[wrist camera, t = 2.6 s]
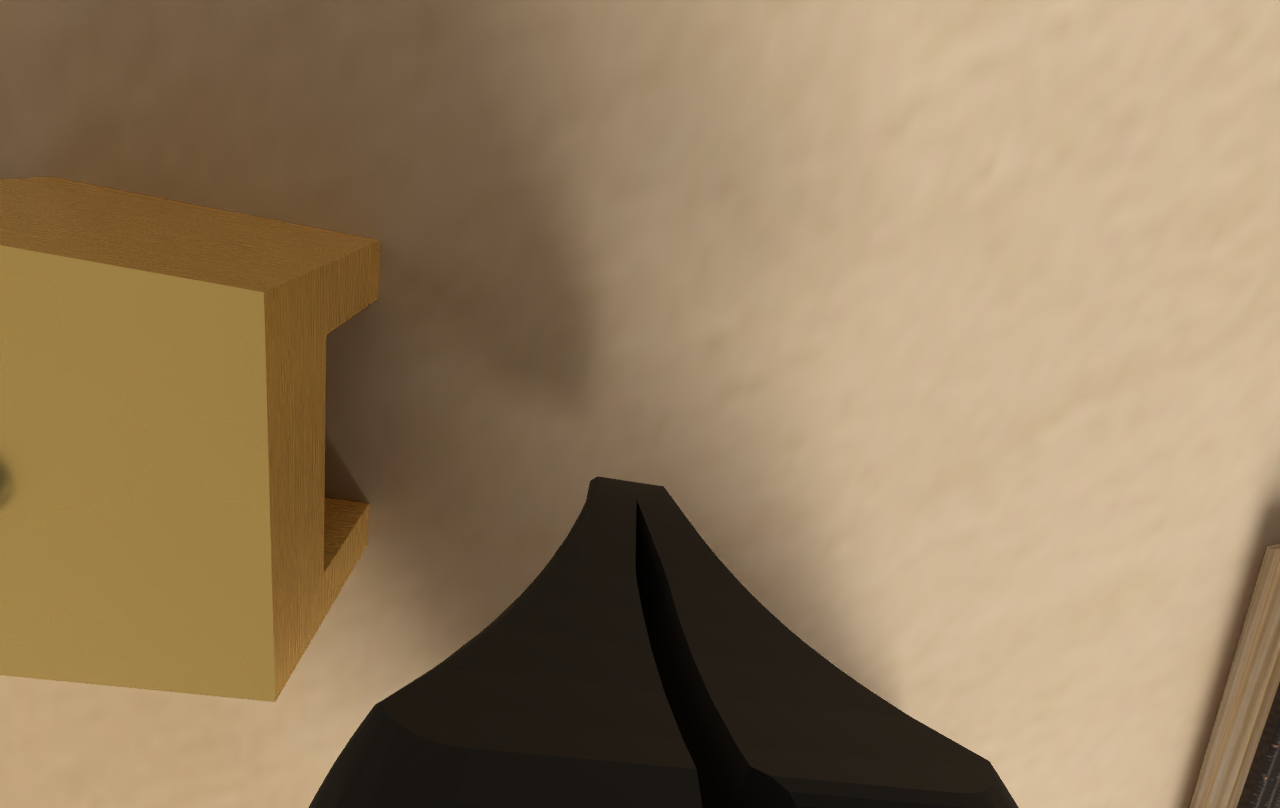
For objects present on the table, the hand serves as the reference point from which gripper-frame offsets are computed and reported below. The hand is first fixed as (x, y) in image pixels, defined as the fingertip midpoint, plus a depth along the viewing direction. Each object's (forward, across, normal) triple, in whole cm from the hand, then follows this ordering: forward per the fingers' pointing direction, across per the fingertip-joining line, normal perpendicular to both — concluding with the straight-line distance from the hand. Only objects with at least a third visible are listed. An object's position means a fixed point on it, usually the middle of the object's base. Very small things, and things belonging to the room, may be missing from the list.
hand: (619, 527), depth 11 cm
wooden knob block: (+3, +8, 0) cm, 9 cm away
